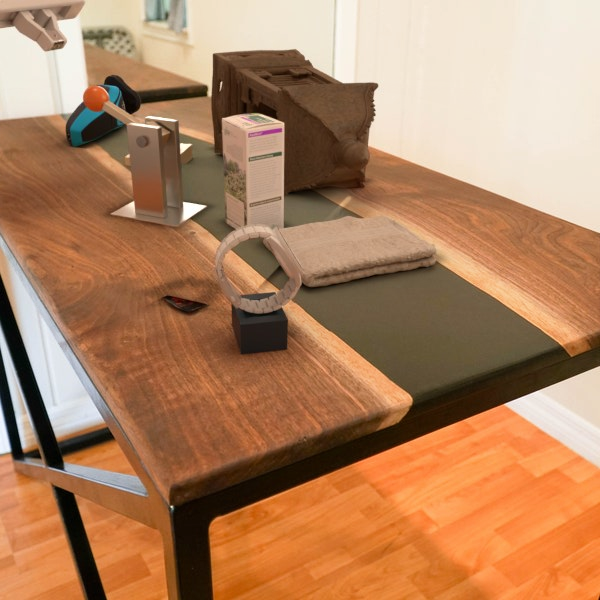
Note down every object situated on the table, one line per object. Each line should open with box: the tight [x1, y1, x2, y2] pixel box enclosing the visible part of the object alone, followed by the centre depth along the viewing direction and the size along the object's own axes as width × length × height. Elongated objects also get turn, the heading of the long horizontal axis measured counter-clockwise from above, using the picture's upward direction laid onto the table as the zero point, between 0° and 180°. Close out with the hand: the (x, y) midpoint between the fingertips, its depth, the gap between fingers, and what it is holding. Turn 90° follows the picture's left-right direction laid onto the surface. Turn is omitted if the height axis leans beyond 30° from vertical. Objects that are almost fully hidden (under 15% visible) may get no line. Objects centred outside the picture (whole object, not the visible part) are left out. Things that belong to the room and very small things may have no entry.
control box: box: [124, 142, 194, 167], centre depth 108 cm, size 10×8×4 cm
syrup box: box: [222, 113, 285, 230], centre depth 81 cm, size 6×6×14 cm
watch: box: [213, 224, 304, 355], centre depth 60 cm, size 6×8×11 cm
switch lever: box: [82, 85, 170, 148], centre depth 83 cm, size 12×3×3 cm, turn 69°
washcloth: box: [262, 215, 437, 288], centre depth 78 cm, size 12×18×3 cm, turn 116°
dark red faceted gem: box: [157, 294, 208, 313], centre depth 68 cm, size 5×5×1 cm
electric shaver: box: [65, 74, 142, 148], centre depth 124 cm, size 9×26×10 cm
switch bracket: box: [110, 115, 208, 229], centre depth 85 cm, size 10×8×13 cm
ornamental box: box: [210, 48, 379, 196], centre depth 101 cm, size 35×18×18 cm, turn 27°
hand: (57, 46), depth 81 cm, fingers closed
